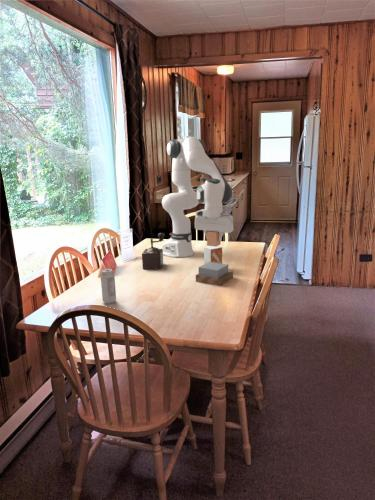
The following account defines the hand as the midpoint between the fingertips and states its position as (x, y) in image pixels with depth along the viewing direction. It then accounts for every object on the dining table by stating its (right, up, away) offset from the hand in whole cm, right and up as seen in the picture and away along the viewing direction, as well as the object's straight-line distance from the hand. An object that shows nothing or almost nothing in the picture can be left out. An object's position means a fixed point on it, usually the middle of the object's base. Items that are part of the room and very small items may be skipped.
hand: (213, 239), depth 202 cm
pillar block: (0, -3, +1) cm, 3 cm away
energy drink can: (-48, -29, -19) cm, 59 cm away
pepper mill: (-32, -14, +32) cm, 47 cm away
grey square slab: (0, -17, +5) cm, 18 cm away
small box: (+1, -16, +21) cm, 27 cm away
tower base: (+1, -21, +6) cm, 22 cm away
